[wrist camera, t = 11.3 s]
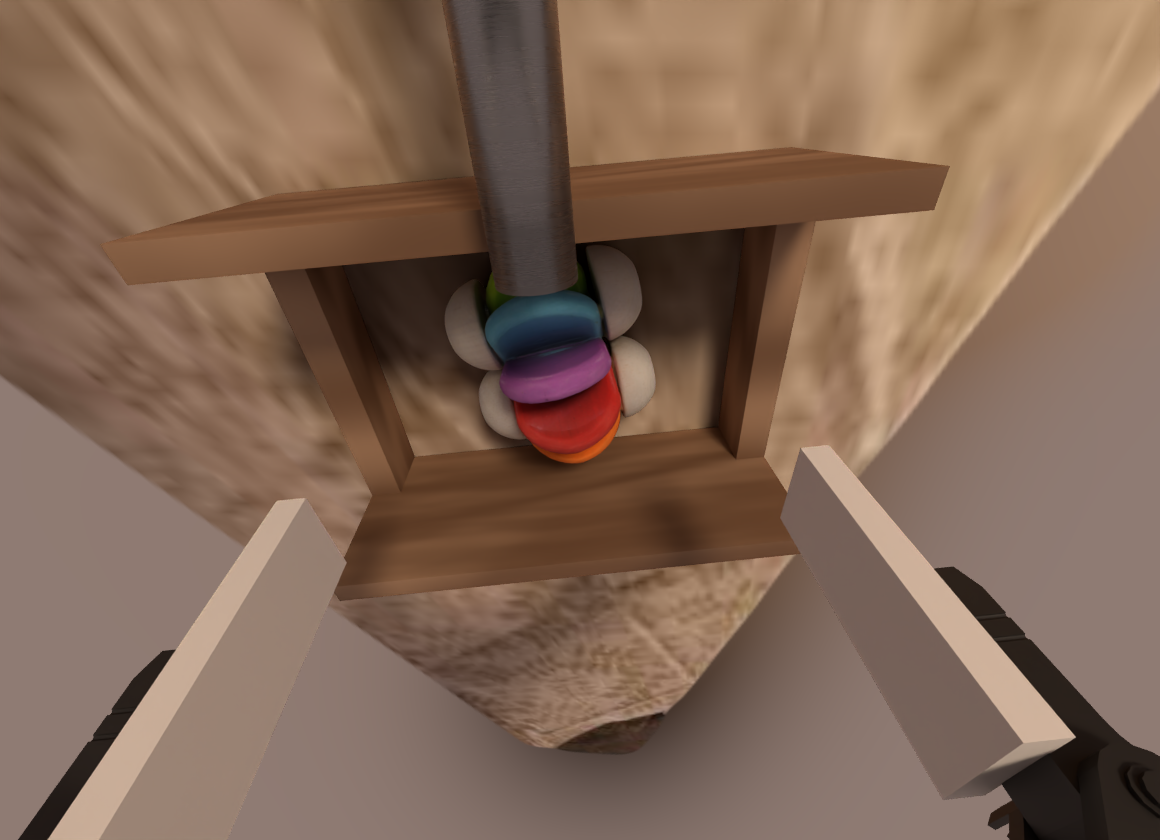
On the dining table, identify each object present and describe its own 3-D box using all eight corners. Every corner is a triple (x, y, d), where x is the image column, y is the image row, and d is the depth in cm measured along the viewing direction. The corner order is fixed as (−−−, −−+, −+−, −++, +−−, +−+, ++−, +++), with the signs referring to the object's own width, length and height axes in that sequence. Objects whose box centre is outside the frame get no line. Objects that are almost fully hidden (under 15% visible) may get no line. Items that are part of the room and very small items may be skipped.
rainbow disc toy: (505, 427, 25) (493, 524, 19) (435, 258, 20) (387, 320, 14) (650, 393, 24) (685, 482, 18) (621, 208, 19) (656, 251, 13)
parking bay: (276, 194, 18) (99, 244, 11) (791, 147, 18) (949, 165, 11) (394, 472, 26) (339, 600, 19) (740, 437, 26) (810, 552, 19)
